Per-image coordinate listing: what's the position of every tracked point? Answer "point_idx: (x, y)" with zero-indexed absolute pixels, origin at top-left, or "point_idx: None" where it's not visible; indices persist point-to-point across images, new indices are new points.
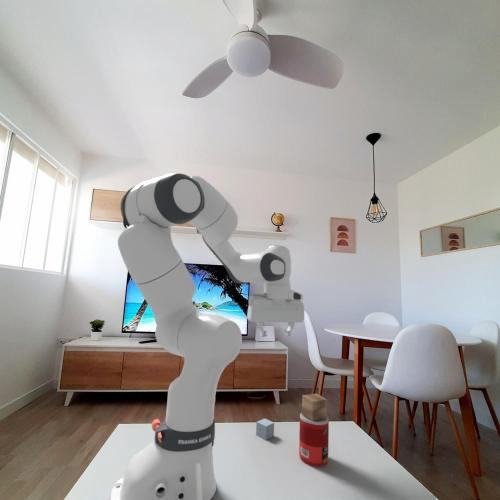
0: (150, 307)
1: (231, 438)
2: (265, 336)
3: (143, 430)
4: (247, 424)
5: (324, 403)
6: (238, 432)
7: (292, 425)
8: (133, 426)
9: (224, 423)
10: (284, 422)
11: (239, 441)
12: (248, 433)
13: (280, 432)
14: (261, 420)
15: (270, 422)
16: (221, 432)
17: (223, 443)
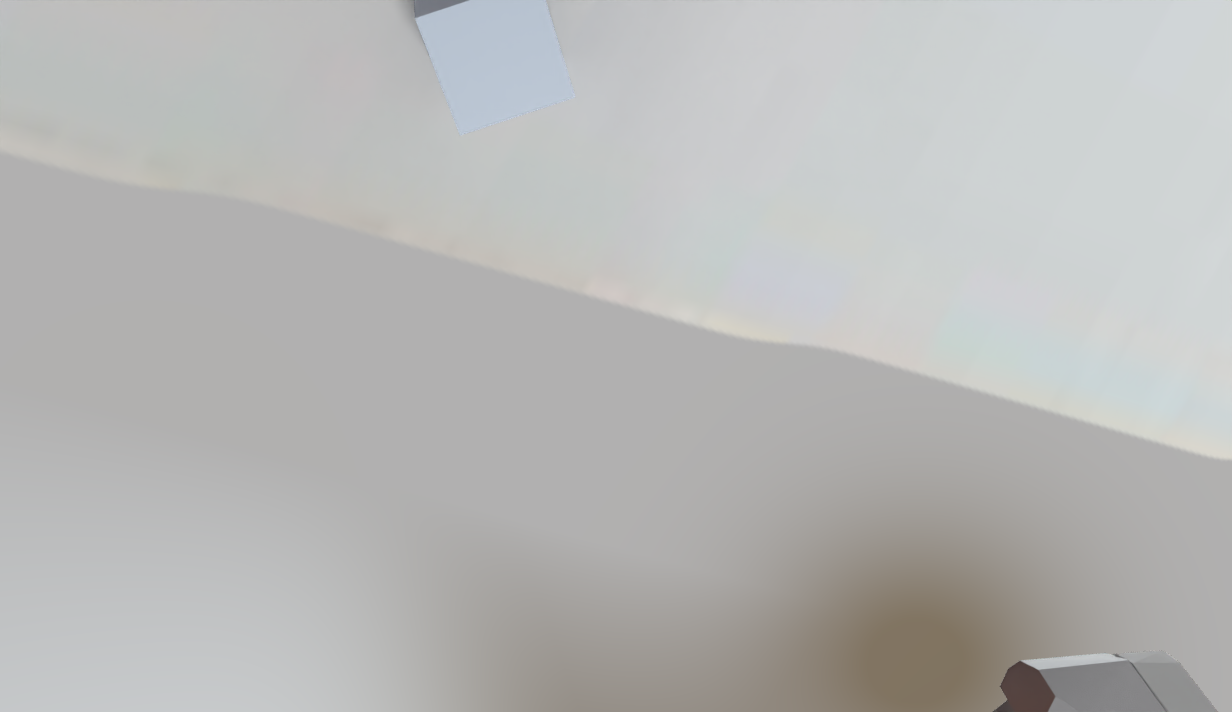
0: None
1: (776, 80)
2: (1019, 664)
3: (1209, 365)
4: (538, 248)
5: None
6: (676, 149)
7: (118, 103)
8: (1228, 425)
9: (705, 314)
10: (175, 182)
11: (744, 12)
12: (608, 106)
13: (314, 21)
14: (516, 106)
15: (450, 36)
16: (797, 192)
17: (871, 30)
